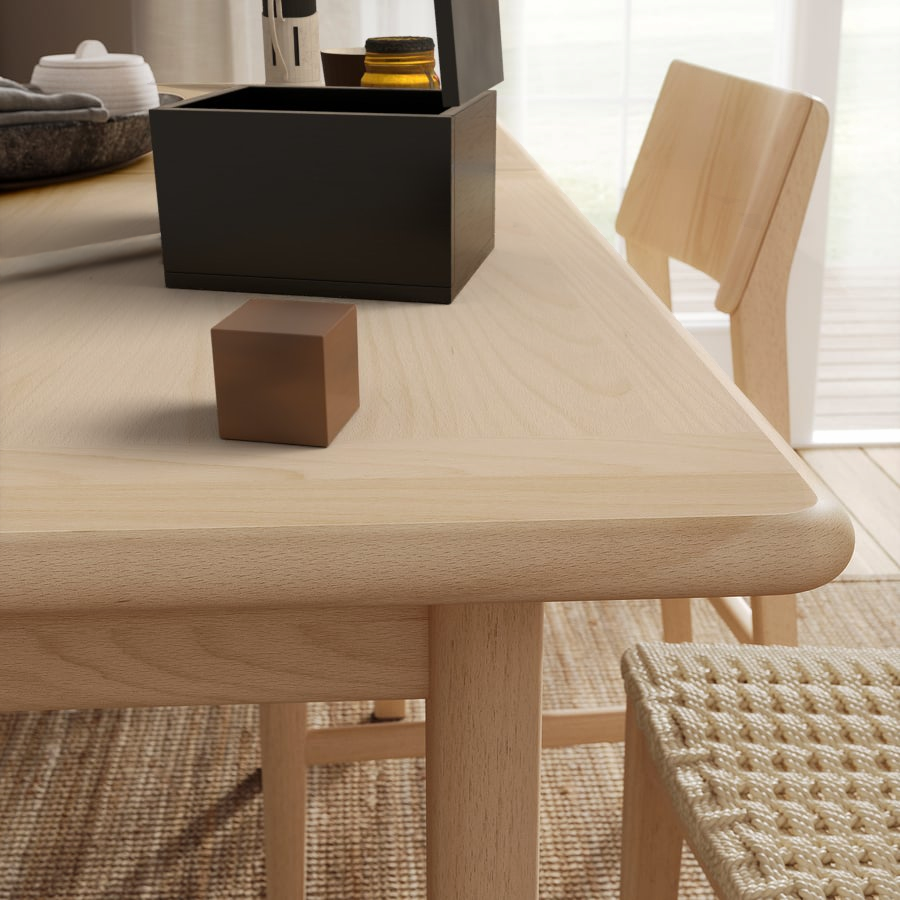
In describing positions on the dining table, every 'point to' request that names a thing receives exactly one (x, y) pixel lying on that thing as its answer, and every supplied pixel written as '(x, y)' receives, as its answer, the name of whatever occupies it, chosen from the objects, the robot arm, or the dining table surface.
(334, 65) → the coffee mug
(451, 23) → the lid
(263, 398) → the block
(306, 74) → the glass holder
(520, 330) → the dining table surface
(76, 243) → the dining table surface
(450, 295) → the dark wooden box
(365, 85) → the condiment
